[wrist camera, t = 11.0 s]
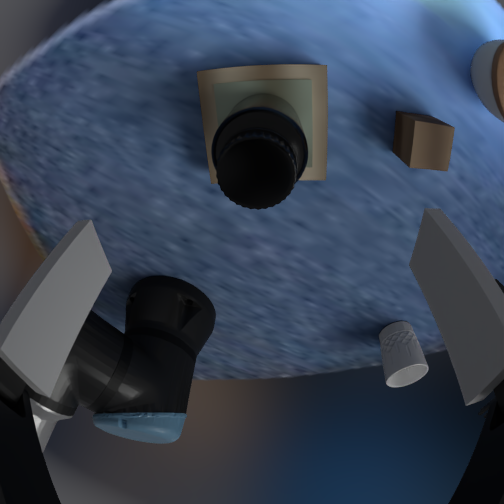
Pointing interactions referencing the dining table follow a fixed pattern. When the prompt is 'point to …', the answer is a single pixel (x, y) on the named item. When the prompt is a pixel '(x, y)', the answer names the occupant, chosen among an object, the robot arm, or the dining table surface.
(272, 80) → the plinth
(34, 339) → the robot arm
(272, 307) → the dining table surface
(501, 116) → the lidded jar
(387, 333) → the white cup
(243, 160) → the supplement bottle
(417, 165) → the walnut cube
